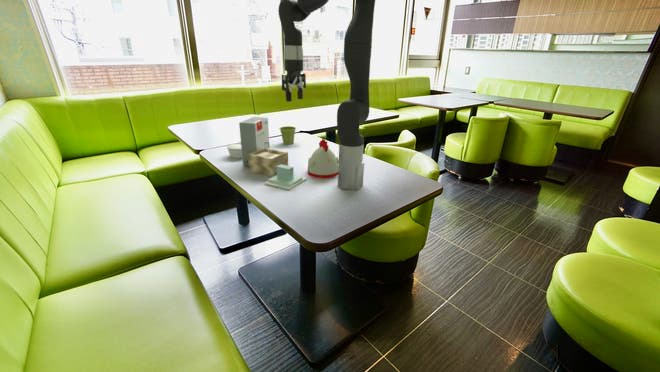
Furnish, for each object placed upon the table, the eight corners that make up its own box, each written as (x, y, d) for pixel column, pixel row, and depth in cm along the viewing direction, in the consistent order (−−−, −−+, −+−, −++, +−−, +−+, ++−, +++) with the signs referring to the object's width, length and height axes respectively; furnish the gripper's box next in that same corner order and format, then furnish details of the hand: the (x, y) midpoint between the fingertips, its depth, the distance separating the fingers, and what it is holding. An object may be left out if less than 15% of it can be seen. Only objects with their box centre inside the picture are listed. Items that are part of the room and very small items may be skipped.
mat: (306, 179, 124) (306, 178, 123) (289, 190, 114) (289, 188, 114) (282, 174, 129) (282, 173, 128) (264, 184, 119) (264, 182, 119)
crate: (288, 169, 135) (287, 152, 131) (273, 177, 126) (272, 159, 123) (265, 164, 140) (264, 147, 137) (249, 171, 131) (248, 154, 128)
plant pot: (295, 145, 170) (295, 130, 166) (279, 145, 170) (278, 129, 166) (297, 140, 178) (296, 126, 175) (281, 140, 179) (280, 126, 175)
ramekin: (254, 153, 156) (253, 143, 154) (246, 159, 146) (245, 149, 144) (233, 152, 157) (232, 142, 155) (224, 158, 147) (223, 148, 145)
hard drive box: (258, 167, 137) (254, 123, 128) (242, 165, 138) (237, 122, 130) (270, 156, 151) (268, 117, 142) (256, 155, 152) (253, 116, 144)
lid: (302, 179, 122) (301, 165, 120) (290, 186, 115) (289, 172, 113) (281, 174, 127) (280, 161, 124) (268, 181, 120) (267, 167, 117)
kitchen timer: (314, 180, 123) (314, 145, 117) (303, 169, 135) (302, 137, 129) (344, 175, 129) (345, 142, 123) (331, 165, 140) (331, 134, 134)
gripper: (291, 58, 111) (292, 103, 118) (310, 58, 123) (311, 99, 130) (275, 58, 114) (277, 101, 121) (295, 58, 126) (296, 97, 133)
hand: (294, 100), depth 125 cm, fingers open, 8 cm apart
